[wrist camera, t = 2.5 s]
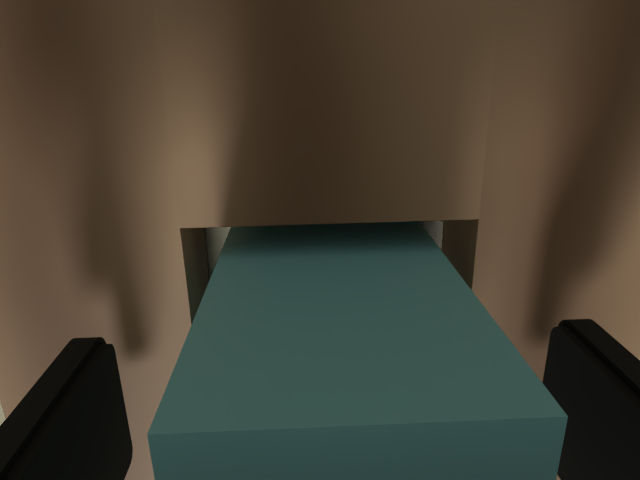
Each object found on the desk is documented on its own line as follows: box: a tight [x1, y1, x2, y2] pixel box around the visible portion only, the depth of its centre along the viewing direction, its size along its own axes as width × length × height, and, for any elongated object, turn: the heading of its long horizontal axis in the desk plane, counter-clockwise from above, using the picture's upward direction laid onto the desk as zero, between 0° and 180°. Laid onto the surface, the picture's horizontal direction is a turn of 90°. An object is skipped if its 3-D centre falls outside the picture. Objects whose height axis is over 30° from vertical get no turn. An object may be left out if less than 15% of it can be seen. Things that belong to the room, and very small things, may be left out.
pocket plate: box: [0, 0, 640, 480], centre depth 13 cm, size 16×16×2 cm
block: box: [147, 221, 568, 480], centre depth 10 cm, size 5×5×8 cm
